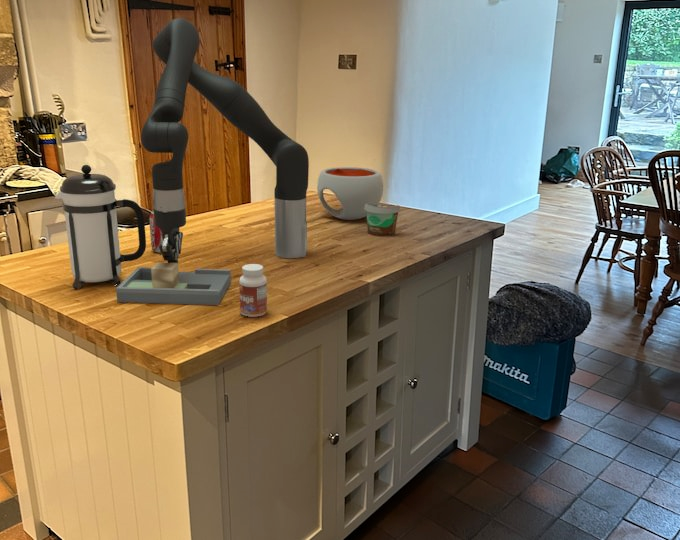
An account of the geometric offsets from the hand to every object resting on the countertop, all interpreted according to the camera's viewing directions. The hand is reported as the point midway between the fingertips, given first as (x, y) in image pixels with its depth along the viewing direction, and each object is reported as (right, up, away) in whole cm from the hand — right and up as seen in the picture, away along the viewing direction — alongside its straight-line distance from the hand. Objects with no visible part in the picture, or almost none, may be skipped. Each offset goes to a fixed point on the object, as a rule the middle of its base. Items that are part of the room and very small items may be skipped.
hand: (173, 273), depth 160 cm
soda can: (-11, +6, +31) cm, 33 cm away
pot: (+45, +20, +76) cm, 90 cm away
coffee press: (-20, -2, +6) cm, 20 cm away
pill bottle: (+22, -9, -13) cm, 27 cm away
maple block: (-1, -3, -4) cm, 5 cm away
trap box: (+1, -4, -2) cm, 5 cm away
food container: (+55, +13, +54) cm, 78 cm away
